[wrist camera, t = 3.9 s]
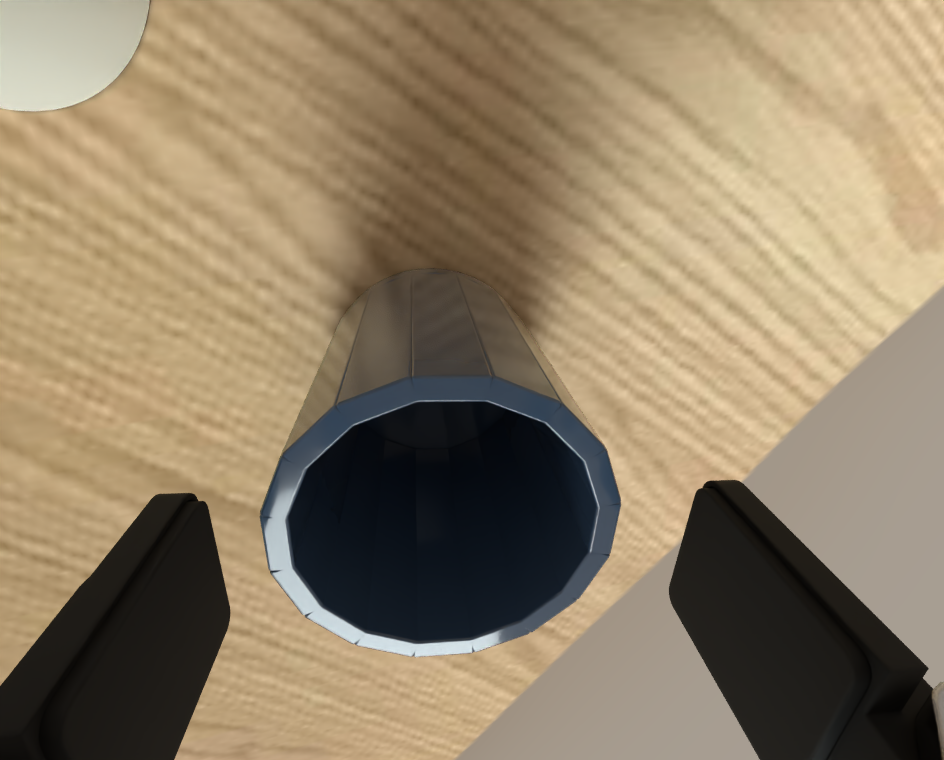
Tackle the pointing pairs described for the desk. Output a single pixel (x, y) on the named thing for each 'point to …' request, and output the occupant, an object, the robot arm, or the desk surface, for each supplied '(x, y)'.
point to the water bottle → (64, 49)
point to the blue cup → (437, 477)
